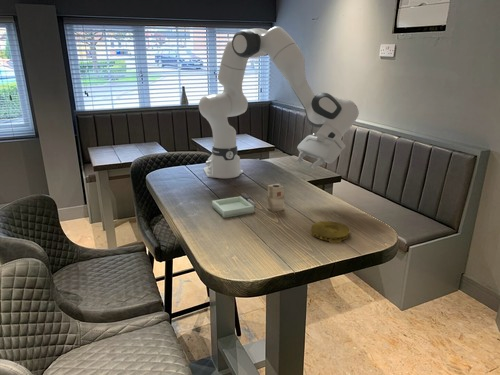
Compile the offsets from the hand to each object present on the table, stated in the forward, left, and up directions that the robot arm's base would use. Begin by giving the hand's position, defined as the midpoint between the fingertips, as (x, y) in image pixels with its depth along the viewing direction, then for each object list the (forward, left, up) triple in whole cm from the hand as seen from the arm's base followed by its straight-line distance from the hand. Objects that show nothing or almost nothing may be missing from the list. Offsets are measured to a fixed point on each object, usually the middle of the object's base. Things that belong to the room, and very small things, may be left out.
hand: (304, 165), depth 142 cm
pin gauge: (-12, -18, -16) cm, 27 cm away
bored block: (0, -12, -16) cm, 20 cm away
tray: (-6, -27, -16) cm, 32 cm away
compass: (+27, -7, -16) cm, 32 cm away
